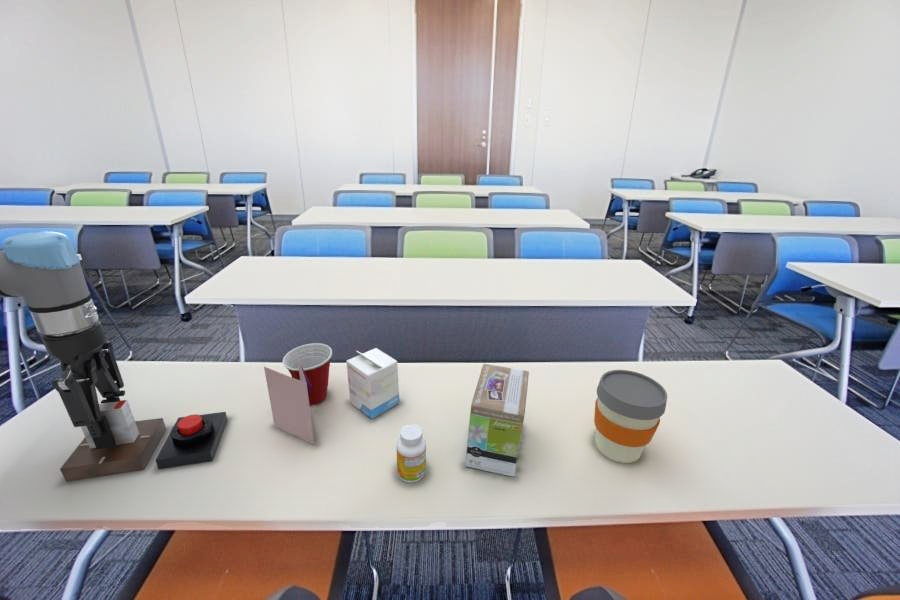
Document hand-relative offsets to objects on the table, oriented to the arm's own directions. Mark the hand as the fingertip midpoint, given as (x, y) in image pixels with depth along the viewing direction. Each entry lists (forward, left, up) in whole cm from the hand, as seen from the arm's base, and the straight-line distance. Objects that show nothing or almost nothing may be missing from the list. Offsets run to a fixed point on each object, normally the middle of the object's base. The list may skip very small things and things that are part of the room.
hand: (113, 436), depth 75 cm
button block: (+13, 0, -4) cm, 14 cm away
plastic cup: (+35, +10, -4) cm, 37 cm away
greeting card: (+32, -1, -4) cm, 32 cm away
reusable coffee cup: (+97, -20, -4) cm, 99 cm away
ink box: (+49, +5, -4) cm, 49 cm away
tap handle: (0, 0, -1) cm, 1 cm away
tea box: (+72, -14, -4) cm, 73 cm away
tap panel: (0, 0, -4) cm, 4 cm away
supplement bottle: (+54, -17, -4) cm, 57 cm away
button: (+13, 0, -1) cm, 13 cm away
